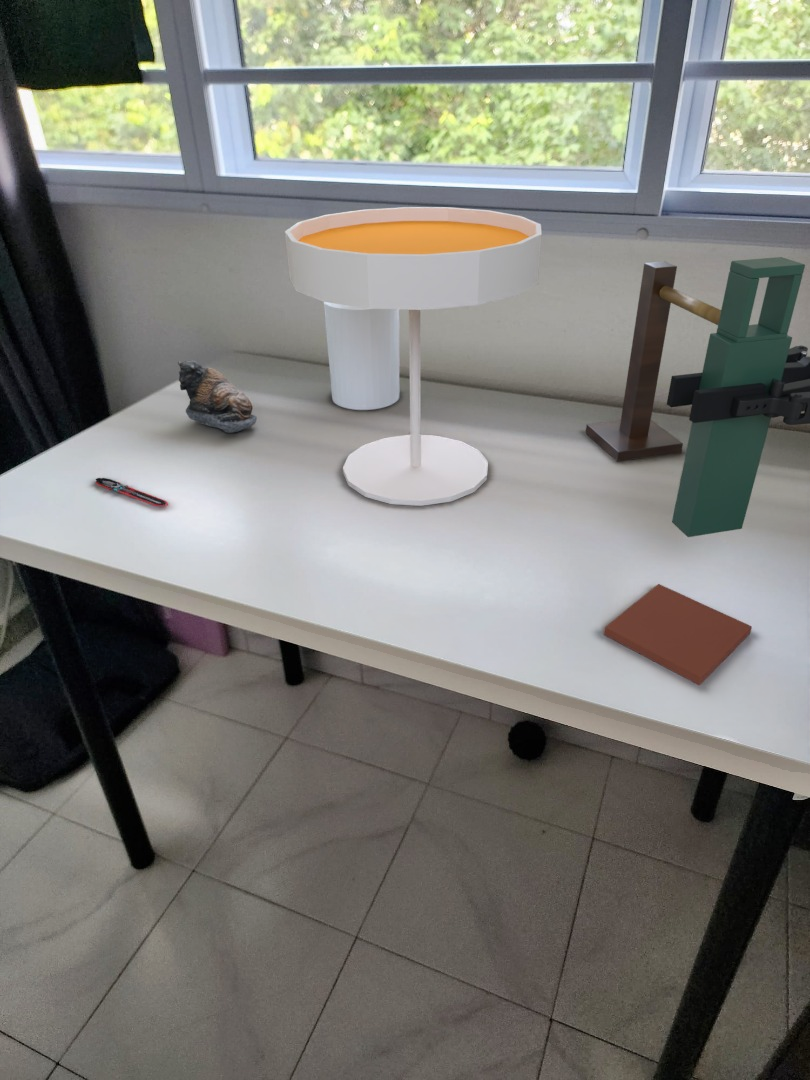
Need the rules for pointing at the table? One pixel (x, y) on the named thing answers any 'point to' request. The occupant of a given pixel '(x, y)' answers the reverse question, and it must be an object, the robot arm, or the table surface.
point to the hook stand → (647, 369)
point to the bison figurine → (214, 398)
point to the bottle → (363, 355)
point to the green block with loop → (737, 359)
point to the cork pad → (678, 633)
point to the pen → (130, 491)
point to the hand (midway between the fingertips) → (683, 399)
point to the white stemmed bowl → (414, 315)
